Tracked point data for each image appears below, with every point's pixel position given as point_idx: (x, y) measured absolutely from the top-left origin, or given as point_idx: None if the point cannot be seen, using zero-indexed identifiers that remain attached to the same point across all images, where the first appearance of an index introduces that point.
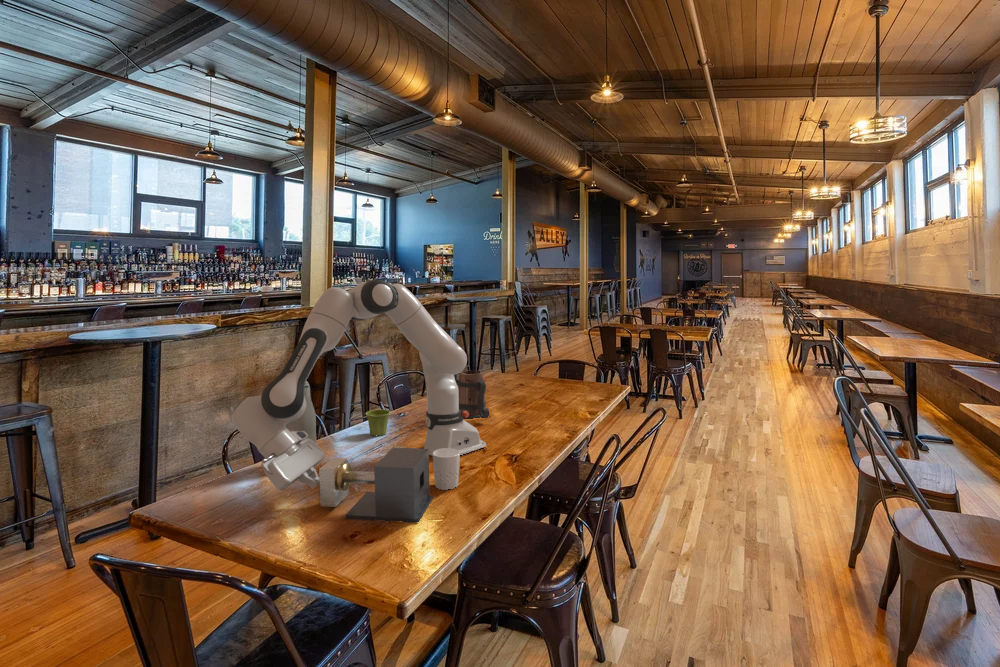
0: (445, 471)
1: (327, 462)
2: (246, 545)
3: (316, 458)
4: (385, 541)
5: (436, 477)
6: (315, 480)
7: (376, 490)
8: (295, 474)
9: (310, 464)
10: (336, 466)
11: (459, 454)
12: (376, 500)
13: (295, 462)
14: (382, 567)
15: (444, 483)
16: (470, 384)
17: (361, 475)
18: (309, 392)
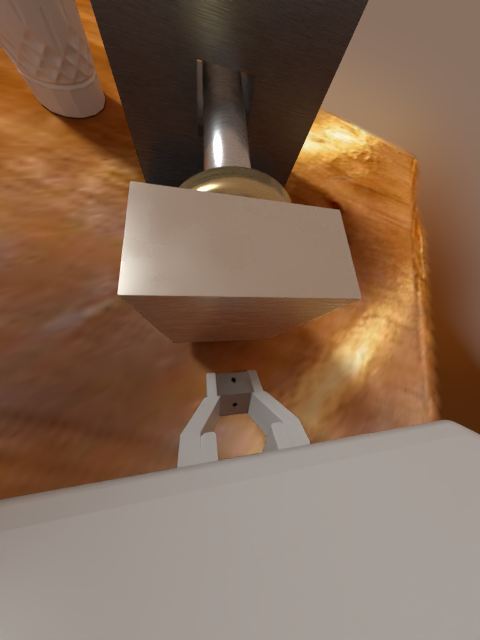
0: (77, 10)
1: (242, 295)
2: (426, 418)
3: (45, 538)
4: (329, 186)
5: (77, 68)
6: (245, 383)
7: (307, 129)
8: (415, 449)
9: (215, 482)
10: (295, 210)
11: None
12: (292, 164)
13: (415, 618)
14: (380, 180)
15: (96, 77)
16: None
17: (247, 157)
18: None
